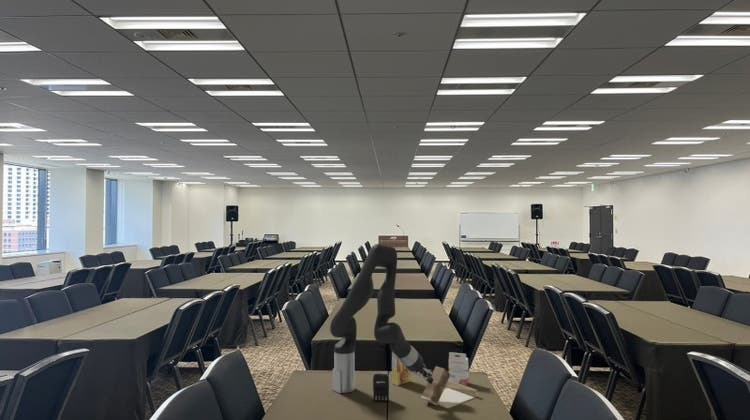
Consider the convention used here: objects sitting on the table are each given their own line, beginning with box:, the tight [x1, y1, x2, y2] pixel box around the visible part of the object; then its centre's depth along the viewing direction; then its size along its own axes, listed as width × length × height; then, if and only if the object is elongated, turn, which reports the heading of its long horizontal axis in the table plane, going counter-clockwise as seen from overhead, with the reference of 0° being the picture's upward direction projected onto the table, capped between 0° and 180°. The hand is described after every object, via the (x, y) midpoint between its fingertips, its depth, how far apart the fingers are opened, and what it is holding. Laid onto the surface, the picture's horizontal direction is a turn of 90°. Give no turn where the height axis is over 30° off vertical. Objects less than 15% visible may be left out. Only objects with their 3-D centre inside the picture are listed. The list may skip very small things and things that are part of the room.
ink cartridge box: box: [448, 351, 470, 387], centre depth 219 cm, size 9×5×15 cm, turn 68°
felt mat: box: [421, 387, 475, 409], centre depth 201 cm, size 17×15×1 cm
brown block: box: [421, 365, 451, 406], centre depth 197 cm, size 5×5×14 cm
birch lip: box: [448, 380, 478, 399], centre depth 207 cm, size 2×15×3 cm, turn 39°
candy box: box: [391, 351, 412, 386], centre depth 221 cm, size 9×4×15 cm, turn 129°
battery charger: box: [372, 372, 390, 403], centre depth 198 cm, size 7×4×11 cm, turn 86°
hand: (431, 381), depth 195 cm, fingers closed
